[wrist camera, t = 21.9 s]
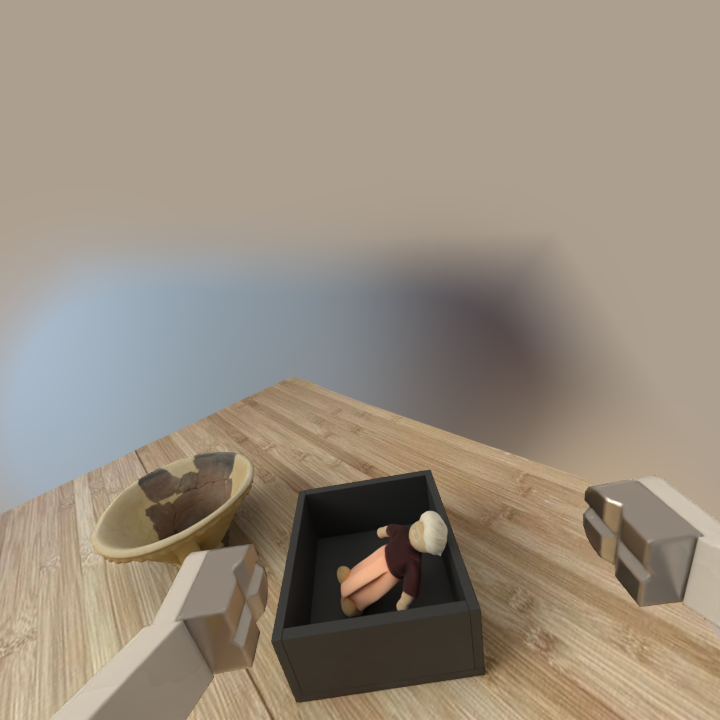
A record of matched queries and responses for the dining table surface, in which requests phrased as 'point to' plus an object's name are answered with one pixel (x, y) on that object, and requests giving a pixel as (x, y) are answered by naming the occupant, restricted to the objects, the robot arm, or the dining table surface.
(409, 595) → the grandmother figurine
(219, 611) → the robot arm
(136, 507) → the bowl
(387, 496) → the open square box
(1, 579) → the dining table surface
